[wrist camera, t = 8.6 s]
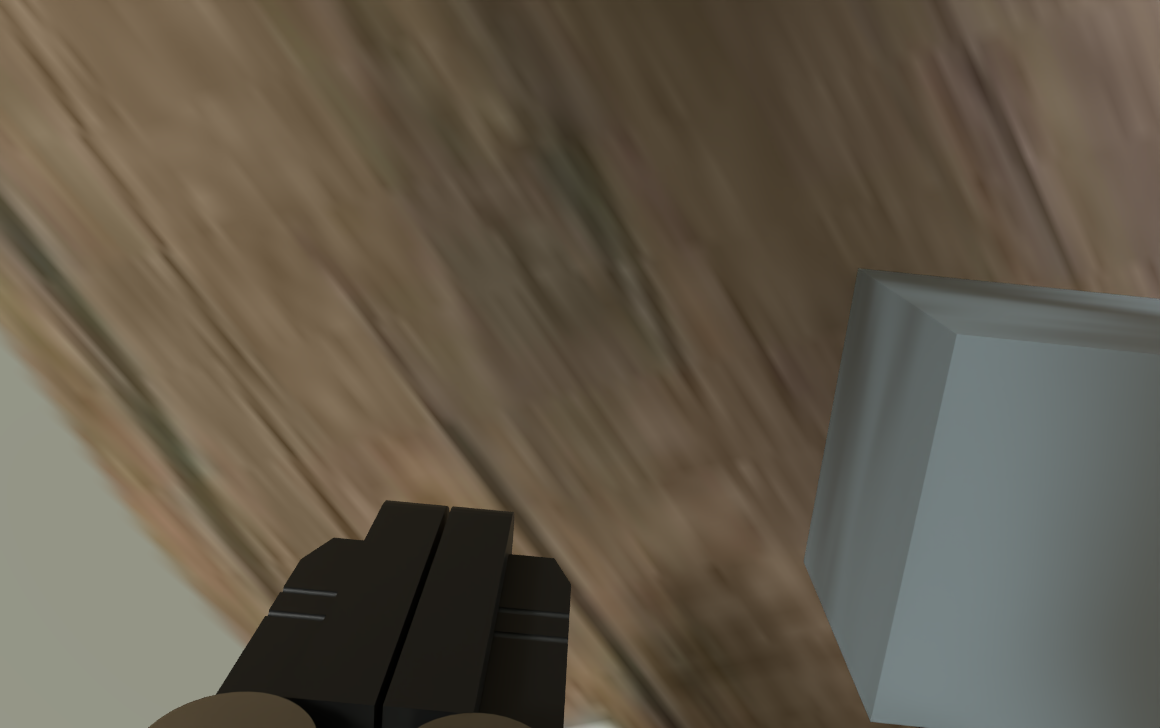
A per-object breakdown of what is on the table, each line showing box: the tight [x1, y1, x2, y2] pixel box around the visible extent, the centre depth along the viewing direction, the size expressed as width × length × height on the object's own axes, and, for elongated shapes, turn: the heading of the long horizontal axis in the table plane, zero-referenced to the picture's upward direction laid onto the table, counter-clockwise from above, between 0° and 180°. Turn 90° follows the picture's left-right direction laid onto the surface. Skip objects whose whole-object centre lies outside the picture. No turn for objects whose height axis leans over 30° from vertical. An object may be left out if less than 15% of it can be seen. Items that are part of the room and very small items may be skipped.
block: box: [804, 268, 1160, 728], centre depth 15 cm, size 7×6×5 cm
